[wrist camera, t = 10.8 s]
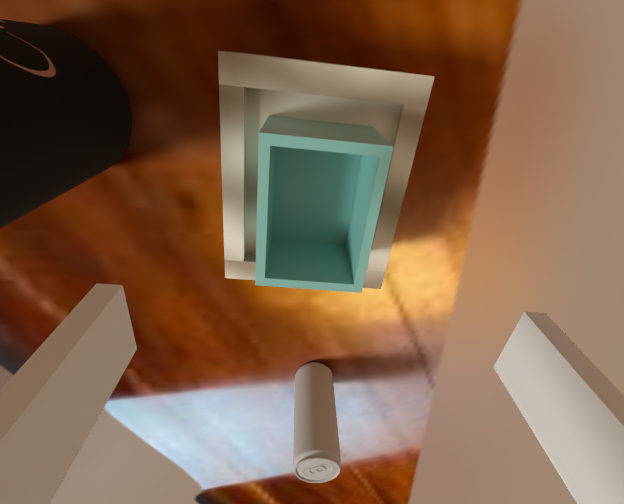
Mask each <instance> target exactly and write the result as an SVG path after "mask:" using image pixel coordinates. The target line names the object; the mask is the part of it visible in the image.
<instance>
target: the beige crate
mask: <svg viewBox="0 0 624 504" xmlns="http://www.w3.org/2000/svg"><path fill="white" fill-rule="evenodd" d="M218 72H219V103H220V133H221V164H222V195H223V226H224V257H225V278H232V279H246V280H255V271H256V229H257V187H258V144H259V131H260V130H261V128H262V126H263V125H264V123H265V121H266V120H267V118H268V116H279V117H288V118H297V119H307V120H316V121H325V122H335V123H344V124H353V125H362V126H372V127H374V128H375V129H376V130H377V131H378V132H379V133H380V134H381V135H382V136H383V137H384V138H385V139H386V140H387V141H389V142H390V143H391V144H392V145H393V146H394V147H393V152H392V156H391V161H390V166H389V170H388V175H387V179H386V184H385V188H384V193H383V197H382V202H381V206H380V211H379V215H378V220H377V224H376V229H375V233H374V238H373V243H372V247H371V252H370V256H369V261H368V265H367V270H366V274H365V279H364V283H363V288H375V289H381V286H382V282H383V278H384V274H385V270H386V266H387V262H388V259H389V255H390V251H391V247H392V243H393V239H394V235H395V231H396V227H397V223H398V219H399V215H400V211H401V207H402V203H403V199H404V195H405V191H406V188H407V184H408V180H409V176H410V172H411V168H412V164H413V160H414V156H415V152H416V148H417V144H418V140H419V136H420V132H421V128H422V124H423V120H424V116H425V113H426V109H427V105H428V101H429V97H430V93H431V89H432V85H433V81H434V77H435V76H427V75H419V74H417V73H409V72H401V71H392V70H384V69H375V68H367V67H359V66H350V65H342V64H333V63H325V62H317V61H308V60H300V59H291V58H283V57H275V56H266V55H258V54H249V53H241V52H232V51H230V52H225V51H218Z"/></svg>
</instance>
